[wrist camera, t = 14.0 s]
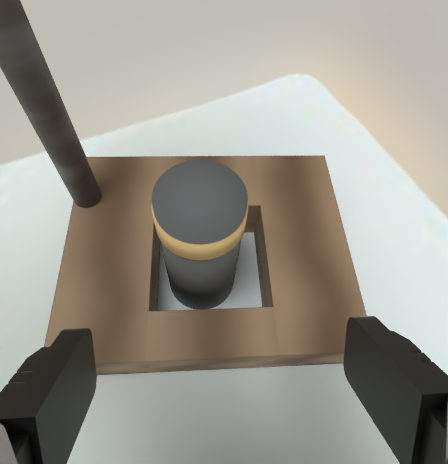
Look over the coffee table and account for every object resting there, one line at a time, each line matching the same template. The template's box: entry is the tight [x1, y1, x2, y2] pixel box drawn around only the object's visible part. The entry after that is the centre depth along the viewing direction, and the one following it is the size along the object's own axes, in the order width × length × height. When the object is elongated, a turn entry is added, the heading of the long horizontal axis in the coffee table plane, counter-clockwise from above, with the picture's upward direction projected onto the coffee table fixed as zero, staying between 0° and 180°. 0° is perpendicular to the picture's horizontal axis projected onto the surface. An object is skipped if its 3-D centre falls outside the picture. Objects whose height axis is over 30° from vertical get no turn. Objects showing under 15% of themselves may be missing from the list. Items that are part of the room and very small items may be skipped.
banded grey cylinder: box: [151, 160, 248, 310], centre depth 23 cm, size 5×5×11 cm
